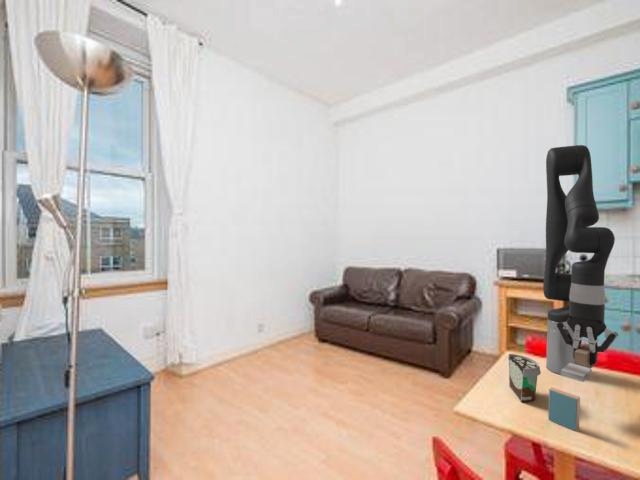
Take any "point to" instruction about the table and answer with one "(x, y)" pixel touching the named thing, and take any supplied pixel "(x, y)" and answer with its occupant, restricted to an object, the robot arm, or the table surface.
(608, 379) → the table surface
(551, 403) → the tile
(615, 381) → the table surface
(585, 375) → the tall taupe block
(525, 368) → the food container
